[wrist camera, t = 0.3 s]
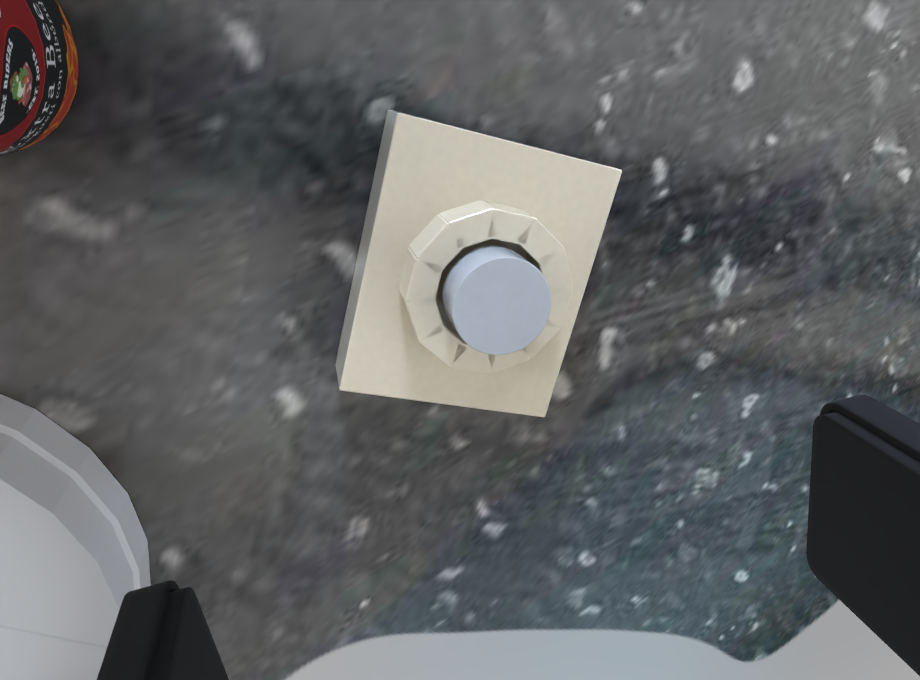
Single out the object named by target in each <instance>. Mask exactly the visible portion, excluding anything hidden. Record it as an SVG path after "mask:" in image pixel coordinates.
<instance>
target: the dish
mask: <svg viewBox="0 0 920 680" xmlns="http://www.w3.org/2000/svg"><path fill="white" fill-rule="evenodd" d="M148 586H151V582H150V567H149V552H148V541H147V538H146V536H145V533H144V531H143V529H142V526H141V524H140V521H139V519H138V517H137V514H136V512H135V509H134V507H133V505H132V502H131V500H130V497H129V495H128V493H127V492H126V491H125V490H124V488H123V487H122V486H121V485H120V484H119V482H118V481H117V480H116V479H115V478H114V476H113V475H112V474H111V473H110V472H109V470H108V469H107V468H106V467H105V466H104V464H103V463H102V462H101V461H100V460H99V458H98V457H97V456H96V455H95V454H94V452H93V451H92V450H91V449H90V448H89V447H87V446H86V445H85V444H83V443H82V442H80V441H79V440H78V439H76V438H75V437H74V436H72V435H71V434H69V433H68V432H67V431H65V430H64V429H62V428H61V427H60V426H58V425H57V424H56V423H54V422H53V421H51V420H50V419H49V418H47V417H46V416H45V415H43V414H42V413H40V412H39V411H38V410H36V409H34V408H32V407H30V406H27V405H25V404H23V403H20V402H18V401H16V400H13V399H11V398H9V397H7V396H4V395H2V394H0V680H97V677H98V674H99V671H100V668H101V665H102V662H103V659H104V656H105V653H106V650H107V646H108V643H109V640H110V637H111V634H112V631H113V628H114V625H115V622H116V619H117V616H118V613H119V610H120V607H121V604H122V600H123V598H124V596H125V594H126V593H128V592H129V591H133V590H137V589H140V588H144V587H148Z"/></svg>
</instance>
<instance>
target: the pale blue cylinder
mask: <svg viewBox="0 0 920 680" xmlns="http://www.w3.org/2000/svg"><path fill="white" fill-rule="evenodd" d="M442 302H443V307H444V310H445V313H446V315H447V317H448V318H449V320H450V322H451V323H452V325H453V326H454V328H455V329H456V331H457V332H458V334H459V336H460V337H461V338H462V339H463V341H464V342H465V343H466V344H467V345H469V346H470V347H472V348H473V349H475V350H477V351H479V352H482V353H485V354H490V355H504V354H509V353H513V352H516V351H518V350H520V349H522V348H524V347H526V346H527V345H529V344H530V343H531V342H532V341H533V340H535V339H536V338H537V336H538V335H539V334H540V333H541V331H542V330H543V328H544V327H545V325H546V323H547V320H548V318H549V315H550V310H551V292H550V288H549V285H548V283H547V281H546V279H545V277H544V276H543V274H542V273H541V272H540V271H539V269H537V268H536V267H535V266H534V265H533V264H531V263H530V262H529V261H528V260H526V259H525V258H524V257H522V256H521V255H520V254H519V253H517V252H516V251H514V250H512V249H510V248H507V247H504V246H498V245H487V246H482V247H478V248H475V249H473V250H471V251H469V252H467V253H465V254H464V255H463V256H461V257H460V258H459V259H458V260H457V261H456V262H455V263H454V264H453V266H452V267H451V268H450V270H449V271H448V273H447V276H446V278H445V281H444V284H443V289H442Z"/></svg>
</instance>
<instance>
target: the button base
mask: <svg viewBox="0 0 920 680" xmlns="http://www.w3.org/2000/svg"><path fill="white" fill-rule="evenodd" d="M621 173H622V170H621V169H617V168H614V167H610V166H607V165H604V164H600V163H597V162H593V161H589V160H585V159H582V158H578V157H574V156H570V155H566V154H562V153H558V152H554V151H551V150H547V149H543V148H539V147H535V146H531V145H527V144H523V143H520V142H516V141H512V140H508V139H504V138H500V137H496V136H492V135H489V134H485V133H481V132H477V131H473V130H469V129H465V128H461V127H458V126H454V125H450V124H446V123H442V122H438V121H434V120H430V119H427V118H423V117H419V116H415V115H411V114H407V113H403V112H399V111H396V110H392V109H388V111H387V115H386V120H385V125H384V130H383V135H382V140H381V145H380V149H379V154H378V159H377V164H376V169H375V174H374V179H373V184H372V188H371V193H370V198H369V203H368V208H367V213H366V218H365V222H364V227H363V232H362V237H361V242H360V247H359V252H358V256H357V261H356V266H355V271H354V276H353V281H352V286H351V291H350V295H349V300H348V305H347V310H346V315H345V320H344V325H343V329H342V334H341V339H340V344H339V349H338V354H337V359H336V363H335V364H336V371H337V377H338V384H339V390H341V391H348V392H356V393H364V394H371V395H379V396H386V397H394V398H402V399H409V400H417V401H424V402H432V403H439V404H447V405H455V406H462V407H470V408H477V409H485V410H493V411H500V412H508V413H515V414H523V415H531V416H538V417H545V415H546V412H547V409H548V406H549V403H550V399H551V396H552V393H553V390H554V387H555V383H556V380H557V377H558V374H559V371H560V368H561V364H562V361H563V358H564V355H565V352H566V348H567V345H568V342H569V339H570V336H571V333H572V329H573V326H574V323H575V320H576V317H577V313H578V310H579V307H580V304H581V301H582V297H583V294H584V291H585V288H586V285H587V282H588V278H589V275H590V272H591V269H592V266H593V262H594V259H595V256H596V253H597V250H598V246H599V243H600V240H601V237H602V234H603V231H604V227H605V224H606V221H607V218H608V215H609V211H610V208H611V205H612V202H613V199H614V196H615V192H616V189H617V186H618V183H619V180H620V176H621ZM487 245H498V246H504V247H507V248H510V249H512V250H514V251H516V252H517V253H519V254H520V255H521V256H522V257H524V258H525V259H526V260H528V261H529V262H530V263H531V264H533V265H534V266H535V267H536V268H537V269H539V271H540V272H541V273H542V274H543V276H544V277H545V279H546V281H547V283H548V285H549V288H550V292H551V310H550V315H549V318H548V320H547V323H546V325H545V327H544V328H543V330H542V331H541V333H540V334H539V335H538V336H537V338H536V339H535V340H533V341H532V342H531V343H530V344H529V345H527V346H526V347H524V348H522V349H520V350H518V351H516V352H513V353H509V354H504V355H490V354H485V353H482V352H479V351H477V350H475V349H473V348H472V347H470V346H469V345H467V344H466V343H465V342H464V341H463V339H462V338H461V337H460V336H459V334H458V332H457V331H456V329H455V328H454V326H453V325H452V323H451V322H450V320H449V318H448V317H447V315H446V313H445V310H444V307H443V302H442V289H443V284H444V281H445V278H446V276H447V273H448V271H449V270H450V268H451V267H452V266H453V264H454V263H455V262H456V261H457V260H458V259H459V258H460V257H461V256H463V255H464V254H465V253H467V252H469V251H471V250H473V249H475V248H478V247H482V246H487Z"/></svg>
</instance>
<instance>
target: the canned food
mask: <svg viewBox="0 0 920 680" xmlns="http://www.w3.org/2000/svg"><path fill="white" fill-rule="evenodd" d="M78 73H79V71H78V58H77V49H76V46H75V42H74V38H73V35H72V31H71V28H70V26H69V24H68V22H67V20H66V17H65V15H64V13H63V11H62V9H61V7H60V5H59V4H58V2H57V1H56V0H0V156H2V155H5V154H8V153H12V152H15V151H18V150H22V149H25V148H27V147H29V146H31V145H33V144H35V143H37V142H39V141H41V140H43V139H44V138H45V137H46V136H47V135H48V134H50V133H51V132H52V131H53V130H54V129H55V128H57V127H58V125H59V124H60V123H61V121H62V120H63V118H64V117H65V116H66V114H67V113H68V111H69V109H70V106H71V104H72V101H73V99H74V96H75V94H76V88H77V80H78Z"/></svg>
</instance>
